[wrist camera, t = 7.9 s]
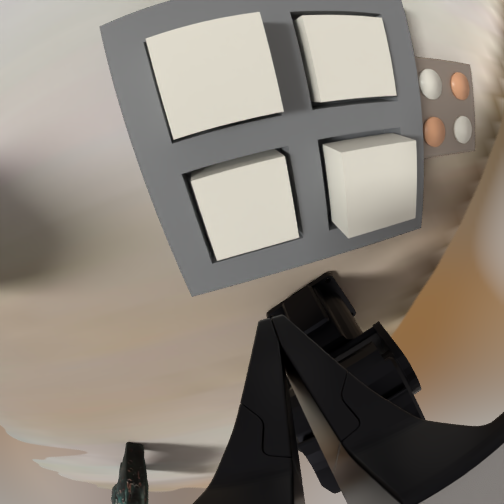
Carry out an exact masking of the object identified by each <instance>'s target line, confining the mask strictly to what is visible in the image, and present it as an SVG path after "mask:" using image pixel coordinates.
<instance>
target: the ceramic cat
mask: <svg viewBox="0 0 504 504" xmlns="http://www.w3.org/2000/svg"><path fill="white" fill-rule="evenodd" d="M111 500H112V504H148V481H147V472H146V465H145V460H144V447H143V445H140V444H133V443H129V442H127V443H126V448H125V454H124V457H123V462H121V465H120V471H119V479H118V483H117V484H116V485H115V486H114V487H113V488H112V497H111Z"/></svg>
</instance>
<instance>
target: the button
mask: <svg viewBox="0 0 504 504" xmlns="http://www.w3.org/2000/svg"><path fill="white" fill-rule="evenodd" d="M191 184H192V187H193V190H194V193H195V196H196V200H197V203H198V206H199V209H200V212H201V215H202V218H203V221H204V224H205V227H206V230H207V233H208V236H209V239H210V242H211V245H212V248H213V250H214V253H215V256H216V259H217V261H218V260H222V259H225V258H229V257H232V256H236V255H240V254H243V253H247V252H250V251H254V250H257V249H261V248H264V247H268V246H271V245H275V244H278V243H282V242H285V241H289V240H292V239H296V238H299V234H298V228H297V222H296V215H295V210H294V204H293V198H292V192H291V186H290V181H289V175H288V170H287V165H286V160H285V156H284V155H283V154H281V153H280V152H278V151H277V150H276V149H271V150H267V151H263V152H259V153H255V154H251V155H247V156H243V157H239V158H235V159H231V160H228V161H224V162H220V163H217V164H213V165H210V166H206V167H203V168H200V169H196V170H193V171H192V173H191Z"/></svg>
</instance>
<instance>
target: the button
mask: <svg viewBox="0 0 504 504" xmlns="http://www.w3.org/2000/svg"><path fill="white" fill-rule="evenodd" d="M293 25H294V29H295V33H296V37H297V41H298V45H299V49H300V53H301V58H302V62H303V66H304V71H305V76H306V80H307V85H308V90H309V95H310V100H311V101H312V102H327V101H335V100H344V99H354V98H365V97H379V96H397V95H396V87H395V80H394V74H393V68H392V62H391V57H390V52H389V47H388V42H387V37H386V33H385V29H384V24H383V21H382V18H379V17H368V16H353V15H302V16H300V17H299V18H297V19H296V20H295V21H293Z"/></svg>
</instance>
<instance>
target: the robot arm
mask: <svg viewBox="0 0 504 504" xmlns="http://www.w3.org/2000/svg"><path fill="white" fill-rule="evenodd" d="M327 278H329V279H328V280H326V279H327ZM355 314H356V312H355V310H354V308H353V307H352V305H351V304H350V302H349V301H348V299H347V298H346V296H345V295H344V293H343V291H342V290H341V288H340V287H339V285H338V284H337V282H336V281H335V279H334V278H333V276H332V275H331V274H330V273H325V274H323V275H322V276H320V277H319V278H318V279H316V280H315V281H313V282H312V283H310V284H309V285H307V286H306V287H304V288H303V289H301V290H300V291H298V292H297V293H295V294H294V295H292V296H291V297H289V298H288V299H286V300H285V301H283V302H282V303H280V304H279V305H277V306H276V307H274V308H273V309H271V310H270V311H268V312H267V314H266V316H267V319H264V320H260V321H259V322H258V326H257V331H256V336H255V340H254V345H253V349H252V354H251V358H250V363H249V367H248V372H247V376H246V381H245V385H244V389H243V394H242V398H241V402H240V403H241V404H240V406H239V410H238V415H237V418H236V422H235V425H234V429H233V431H232V434H231V437H230V440H229V442H228V445H227V447H226V450H225V452H224V454H223V457H222V459H221V462H220V464H219V466H218V469H217V471H216V473H215V475H214V477H213V479H212V481H211V483H210V484H209V486H208V487H207V489H206V490H205V491H204V492H203V493H202V495H201V496H200V497H199V498H198V499H197V500H196V501H195V502H194V503H193V504H305V499H304V492H303V485H302V477H301V470H300V463H299V455H298V450H299V451H300V452H303V454H304V455H305V456H306V458H307V459H308V461H309V462H310V464H311V465H312V467H313V469H314V471H315V473H316V475H317V477H318V479H319V481H320V483H321V485H322V486H323V487H324V488H326V489H328V490H329V491H331V492H332V493H338V492H340V491H342V493H343V496H344V498H345V499H346V502H347V504H504V412H503V413H502V414H501V415H500V416H499V417H497V418H496V419H495V420H494V421H492V422H491V423H489V424H486V425H483V426H464V425H456V424H448V423H440V422H433V421H427V420H425V418H424V416H423V414H422V411H421V409H420V407H419V405H418V403H417V401H416V399H415V397H414V394H416V393H417V392H419V391H420V390H421V387H420V383H419V381H418V379H417V376H416V375H415V372H414V371H413V369H412V367H411V365H410V363H409V362H408V360H407V358H406V357H405V356H404V354H403V352H402V351H401V350H400V348H399V347H398V346H397V344H396V343H395V342H394V340H393V339H392V338H391V337H390V335H389V334H388V333H387V331H386V330H385V329H384V328H383V326H382V325H381V324H380V322H377V323H376V324H374V325H373V327H372V328H370V329H368V330H367V331H365V332H364V333H363V332H362V331H361V329H360V327H359V326H358V324H357V322H356V321H355V319H354V316H355ZM272 315H274V316H272ZM286 374H287V375H286Z"/></svg>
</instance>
